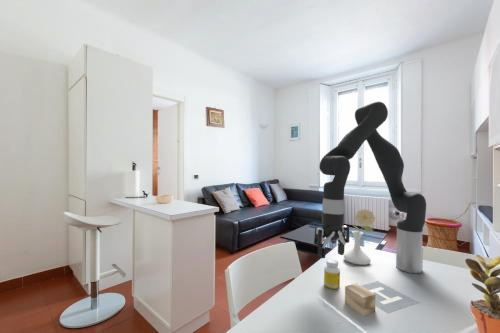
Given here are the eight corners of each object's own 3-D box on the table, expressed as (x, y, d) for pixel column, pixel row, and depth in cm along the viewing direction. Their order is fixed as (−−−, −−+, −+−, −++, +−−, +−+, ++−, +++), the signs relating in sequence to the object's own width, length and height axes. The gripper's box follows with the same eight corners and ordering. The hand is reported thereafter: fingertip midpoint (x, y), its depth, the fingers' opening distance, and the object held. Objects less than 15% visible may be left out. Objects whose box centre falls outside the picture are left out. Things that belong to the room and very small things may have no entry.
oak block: (356, 301, 78) (356, 283, 78) (375, 314, 71) (375, 294, 71) (344, 304, 76) (345, 286, 76) (362, 318, 69) (363, 297, 69)
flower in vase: (339, 261, 109) (340, 207, 109) (348, 255, 117) (350, 204, 117) (370, 271, 100) (371, 212, 100) (377, 263, 109) (379, 208, 108)
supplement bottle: (340, 293, 83) (341, 265, 82) (324, 291, 84) (325, 263, 84) (338, 285, 88) (338, 258, 88) (323, 283, 89) (323, 257, 89)
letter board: (377, 282, 90) (377, 281, 90) (419, 304, 77) (419, 302, 77) (348, 290, 84) (348, 288, 84) (387, 315, 71) (387, 313, 71)
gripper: (340, 208, 92) (338, 250, 92) (310, 210, 86) (308, 254, 86) (356, 212, 85) (354, 257, 85) (324, 214, 79) (323, 262, 79)
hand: (331, 255), depth 86 cm, fingers open, 8 cm apart
